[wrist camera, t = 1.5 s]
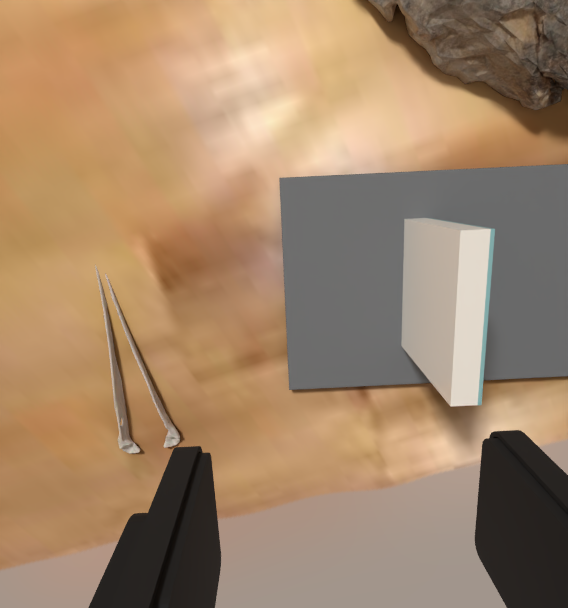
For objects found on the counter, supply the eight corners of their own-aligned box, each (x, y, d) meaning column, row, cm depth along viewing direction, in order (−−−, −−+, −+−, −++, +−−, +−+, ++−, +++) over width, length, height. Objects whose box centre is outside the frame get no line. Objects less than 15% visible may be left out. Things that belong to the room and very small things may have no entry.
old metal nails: (185, 438, 34) (179, 452, 32) (127, 449, 34) (117, 463, 32) (129, 217, 31) (118, 217, 29) (65, 230, 31) (50, 230, 29)
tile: (428, 217, 28) (495, 228, 20) (423, 344, 31) (481, 405, 22) (404, 218, 28) (460, 230, 20) (401, 345, 31) (450, 406, 22)
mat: (610, 162, 28) (617, 161, 28) (581, 371, 32) (586, 375, 32) (279, 178, 28) (279, 178, 28) (289, 386, 32) (289, 389, 32)
